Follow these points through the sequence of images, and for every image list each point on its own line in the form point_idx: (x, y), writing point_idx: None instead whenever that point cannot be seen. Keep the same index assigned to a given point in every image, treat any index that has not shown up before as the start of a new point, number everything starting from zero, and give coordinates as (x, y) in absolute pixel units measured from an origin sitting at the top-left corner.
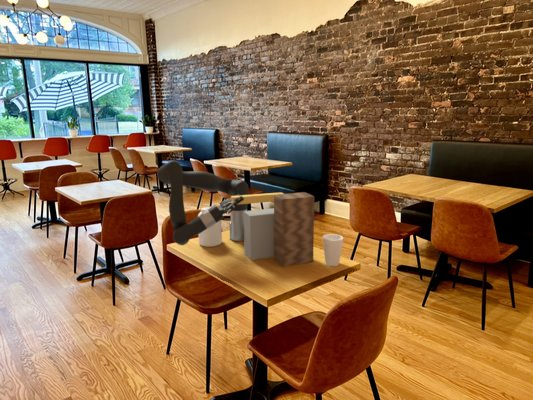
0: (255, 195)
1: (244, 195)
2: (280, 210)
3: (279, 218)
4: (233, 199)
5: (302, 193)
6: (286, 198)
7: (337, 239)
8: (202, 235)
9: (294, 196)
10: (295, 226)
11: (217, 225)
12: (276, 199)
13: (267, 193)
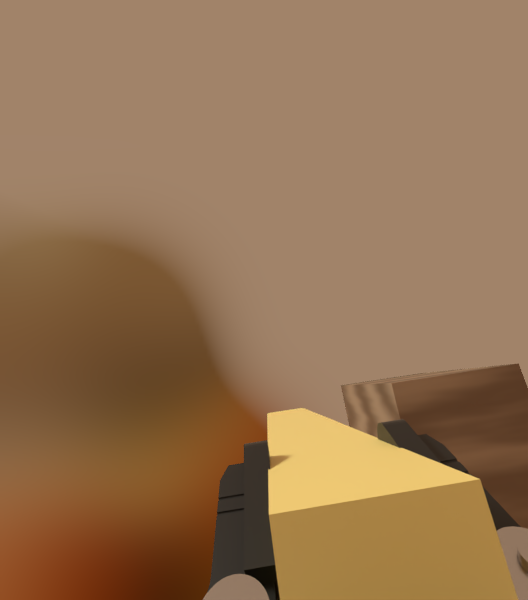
0: (316, 422)
1: (290, 442)
2: (520, 446)
3: (525, 515)
4: (484, 537)
5: (364, 382)
6: (484, 367)
7: None
8: None
9: (426, 374)
10: None
11: None
12: (437, 397)
13: (268, 419)
